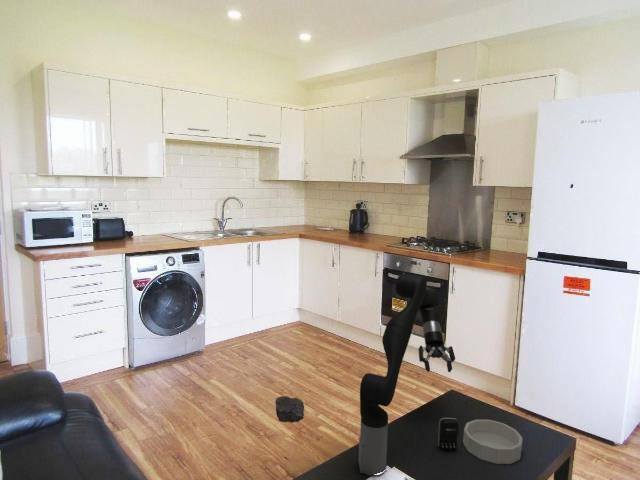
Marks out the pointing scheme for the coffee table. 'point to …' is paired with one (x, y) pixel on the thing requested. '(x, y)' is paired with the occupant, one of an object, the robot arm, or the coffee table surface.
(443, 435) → the battery charger
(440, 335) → the robot arm
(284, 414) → the rock
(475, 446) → the bowl
